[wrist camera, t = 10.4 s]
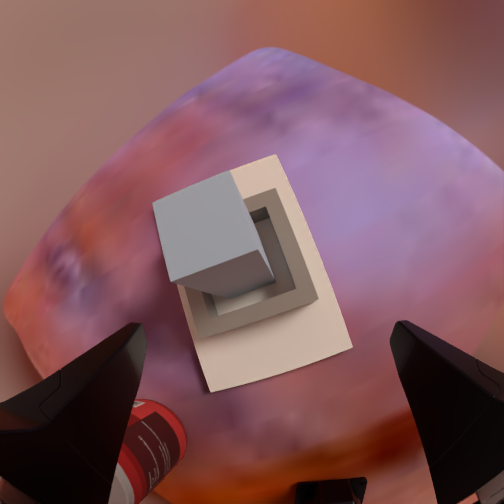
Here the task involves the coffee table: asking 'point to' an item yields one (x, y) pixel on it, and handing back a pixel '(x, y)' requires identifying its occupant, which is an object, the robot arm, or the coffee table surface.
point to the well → (268, 295)
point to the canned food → (147, 451)
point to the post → (212, 239)
